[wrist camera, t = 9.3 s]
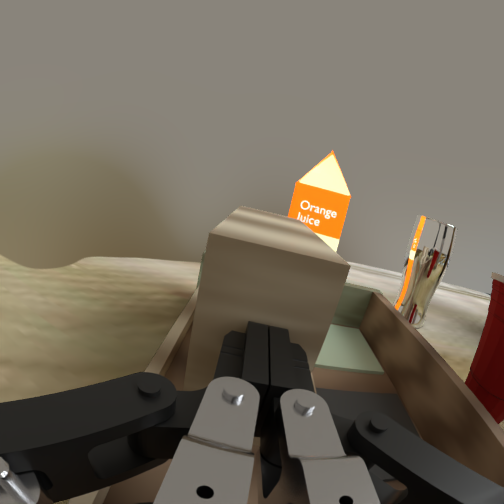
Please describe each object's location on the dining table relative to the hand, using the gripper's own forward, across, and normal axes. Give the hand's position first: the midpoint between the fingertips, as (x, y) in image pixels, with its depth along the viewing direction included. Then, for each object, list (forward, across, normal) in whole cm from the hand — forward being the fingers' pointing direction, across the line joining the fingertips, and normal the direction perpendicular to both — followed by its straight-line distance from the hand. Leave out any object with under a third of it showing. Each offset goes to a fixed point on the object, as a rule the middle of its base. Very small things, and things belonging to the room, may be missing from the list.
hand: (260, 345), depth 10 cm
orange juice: (+32, -7, +7) cm, 34 cm away
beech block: (+7, 0, +6) cm, 9 cm away
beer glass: (+25, -24, +7) cm, 35 cm away
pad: (+13, -8, +6) cm, 16 cm away
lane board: (-1, -4, +7) cm, 8 cm away
